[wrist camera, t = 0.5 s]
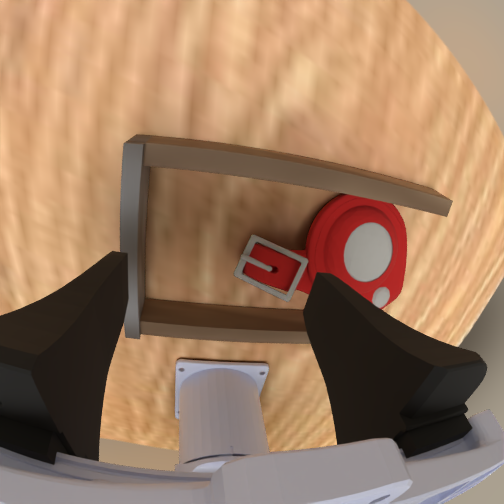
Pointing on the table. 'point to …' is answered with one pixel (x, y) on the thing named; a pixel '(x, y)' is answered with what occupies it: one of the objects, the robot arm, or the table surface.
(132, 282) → the frame
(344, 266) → the tracker holder
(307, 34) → the table surface
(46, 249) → the table surface
